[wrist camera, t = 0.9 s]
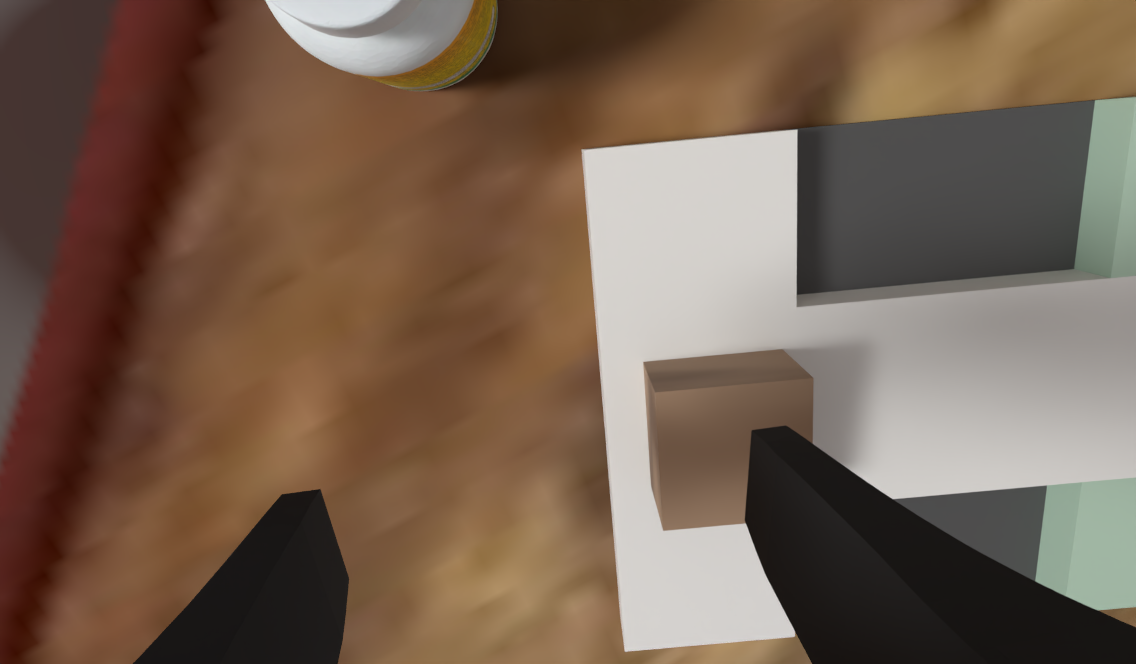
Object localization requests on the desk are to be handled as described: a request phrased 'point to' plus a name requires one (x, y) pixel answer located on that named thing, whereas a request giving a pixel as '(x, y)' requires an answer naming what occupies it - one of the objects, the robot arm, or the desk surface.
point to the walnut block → (716, 429)
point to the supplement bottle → (394, 37)
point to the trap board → (885, 336)
